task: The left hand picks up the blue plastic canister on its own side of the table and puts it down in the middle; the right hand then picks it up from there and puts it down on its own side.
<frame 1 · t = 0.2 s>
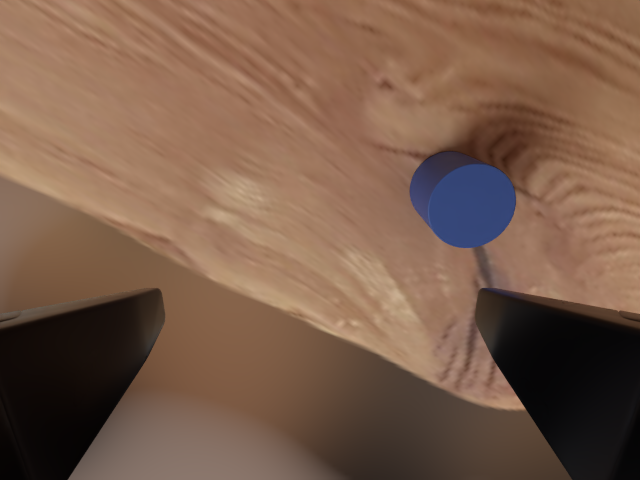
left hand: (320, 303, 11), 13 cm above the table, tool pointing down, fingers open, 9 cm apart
canister: (446, 188, 24), on the table
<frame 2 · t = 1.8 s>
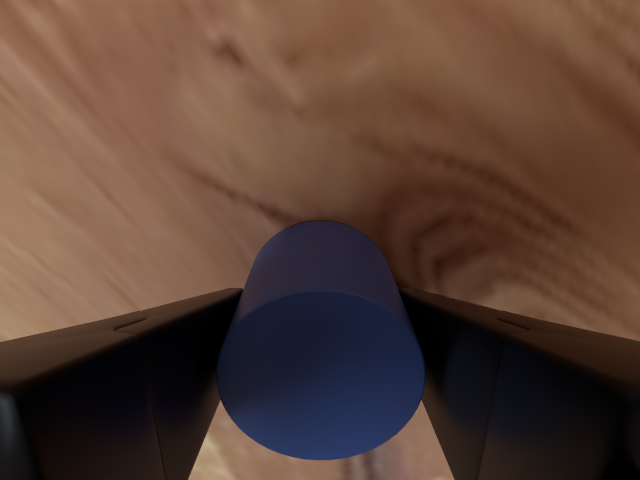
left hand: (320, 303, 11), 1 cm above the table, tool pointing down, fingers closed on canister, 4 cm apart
canister: (320, 287, 12), on the table, touching left hand
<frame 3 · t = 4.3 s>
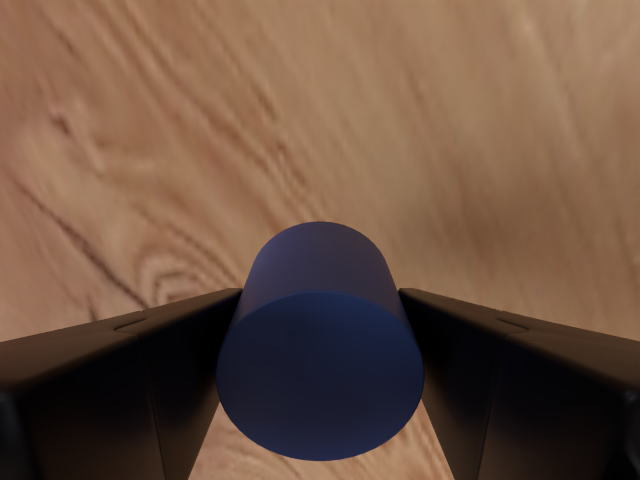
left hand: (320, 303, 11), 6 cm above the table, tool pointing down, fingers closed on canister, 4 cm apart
canister: (320, 288, 12), point 5 cm above the table, touching left hand
when the left hand's fingers open (2 cm above the table, at t = 7.1 s): canister drops 1 cm, on the table.
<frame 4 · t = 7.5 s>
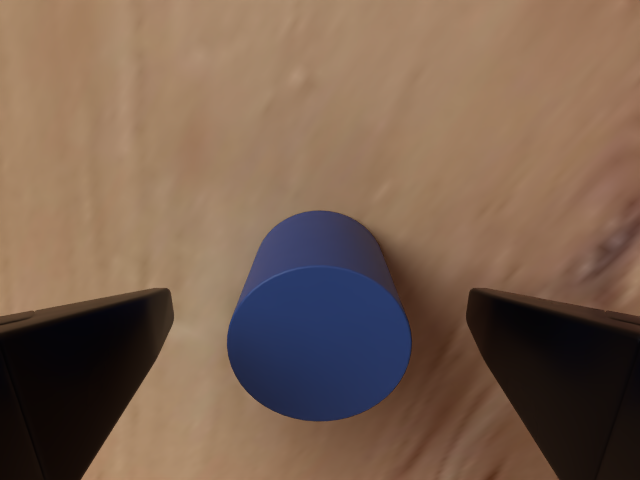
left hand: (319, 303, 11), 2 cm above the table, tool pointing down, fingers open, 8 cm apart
canister: (319, 272, 13), on the table
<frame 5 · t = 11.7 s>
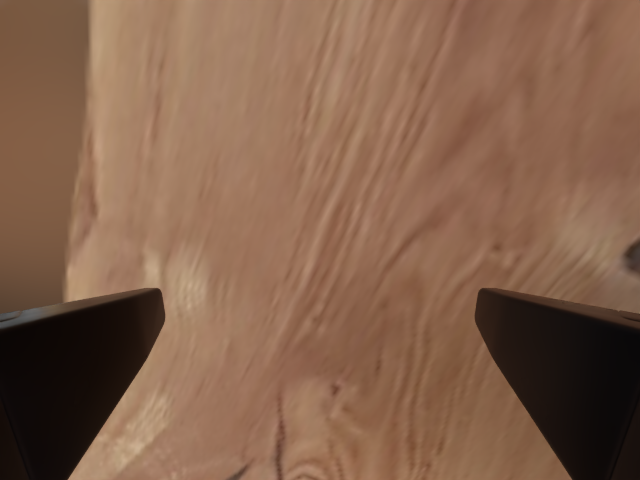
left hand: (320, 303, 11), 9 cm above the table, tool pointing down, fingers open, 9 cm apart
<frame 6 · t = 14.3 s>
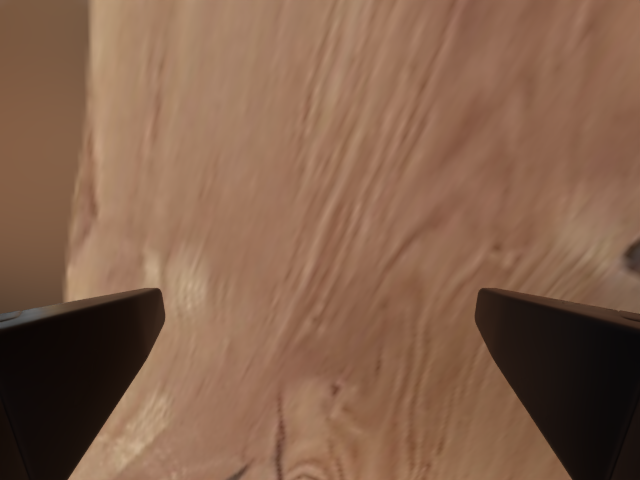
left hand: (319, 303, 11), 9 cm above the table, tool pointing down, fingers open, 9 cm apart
when the right hand's fingers open (3 cm above the table, at t = 16.9 s): canister drops 1 cm, on the table.
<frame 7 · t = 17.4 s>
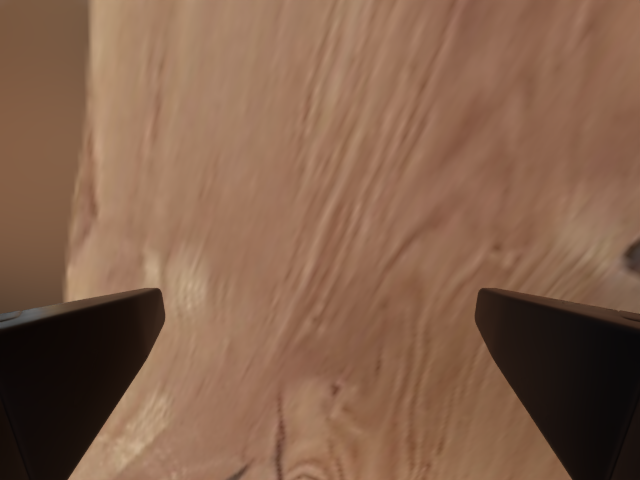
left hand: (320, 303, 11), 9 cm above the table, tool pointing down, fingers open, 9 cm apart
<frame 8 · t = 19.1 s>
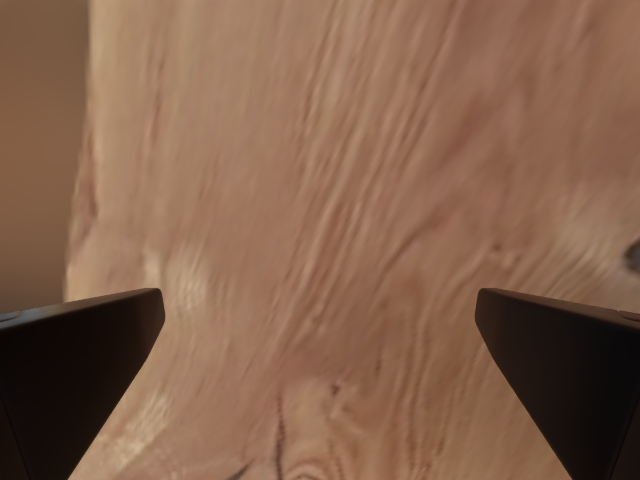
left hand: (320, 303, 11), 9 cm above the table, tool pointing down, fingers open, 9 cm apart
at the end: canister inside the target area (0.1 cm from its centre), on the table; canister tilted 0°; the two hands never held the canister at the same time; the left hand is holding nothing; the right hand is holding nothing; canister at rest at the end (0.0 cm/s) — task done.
